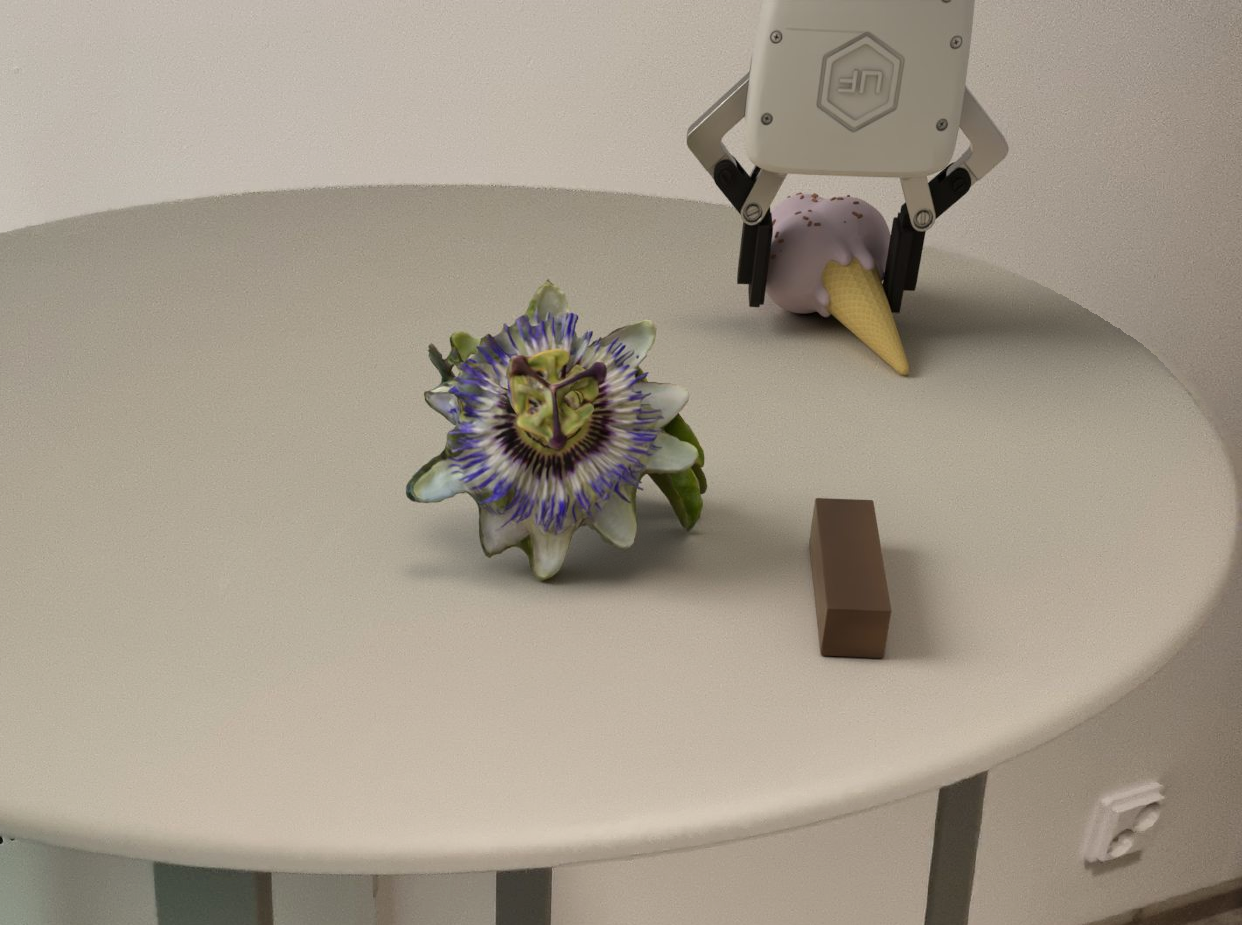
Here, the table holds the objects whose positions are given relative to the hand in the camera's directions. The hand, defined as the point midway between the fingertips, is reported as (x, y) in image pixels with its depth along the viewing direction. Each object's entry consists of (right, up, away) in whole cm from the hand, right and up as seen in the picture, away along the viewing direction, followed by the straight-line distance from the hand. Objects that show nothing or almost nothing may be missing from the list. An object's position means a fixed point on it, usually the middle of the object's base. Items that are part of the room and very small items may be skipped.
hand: (823, 298), depth 99 cm
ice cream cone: (+1, -1, +1) cm, 2 cm away
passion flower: (-15, -18, -17) cm, 29 cm away
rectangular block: (-4, -22, -22) cm, 31 cm away
